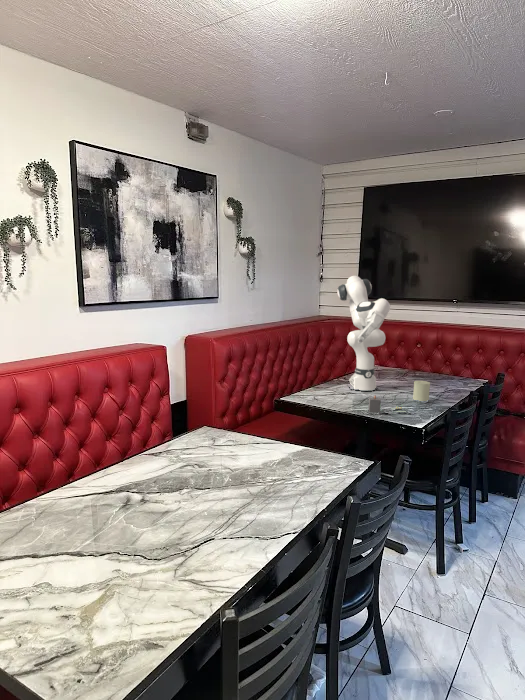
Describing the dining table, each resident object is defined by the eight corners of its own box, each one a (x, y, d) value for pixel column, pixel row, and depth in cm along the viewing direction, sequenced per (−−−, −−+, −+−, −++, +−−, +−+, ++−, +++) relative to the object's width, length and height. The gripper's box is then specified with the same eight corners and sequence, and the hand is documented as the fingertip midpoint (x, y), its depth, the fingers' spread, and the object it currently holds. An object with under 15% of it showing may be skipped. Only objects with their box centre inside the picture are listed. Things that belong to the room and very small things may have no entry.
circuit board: (375, 406, 260) (376, 400, 259) (400, 405, 262) (401, 400, 261) (388, 414, 243) (388, 409, 243) (414, 414, 245) (415, 408, 245)
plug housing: (368, 412, 248) (369, 394, 246) (379, 412, 247) (380, 394, 246) (369, 414, 244) (370, 396, 242) (380, 414, 243) (381, 396, 242)
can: (409, 400, 273) (410, 380, 271) (420, 398, 277) (422, 379, 275) (420, 404, 265) (421, 383, 263) (432, 402, 269) (433, 382, 267)
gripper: (361, 327, 261) (350, 343, 255) (377, 308, 244) (366, 326, 237) (370, 333, 261) (360, 350, 254) (387, 315, 243) (376, 333, 236)
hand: (363, 338), depth 245 cm, fingers open, 8 cm apart
